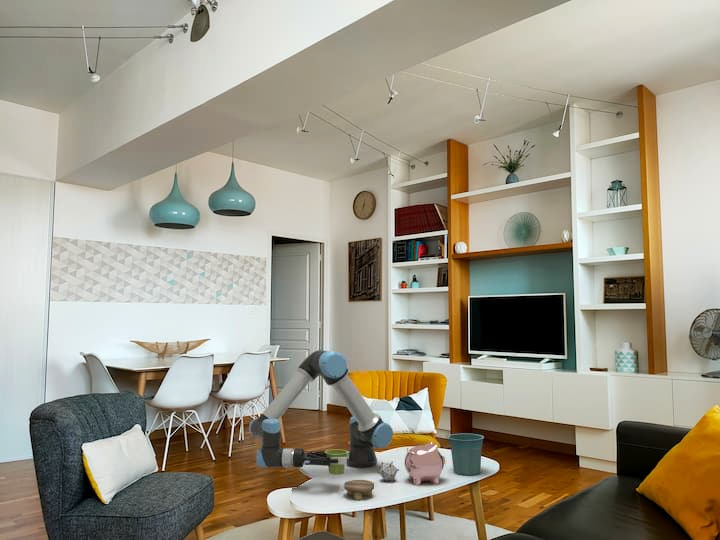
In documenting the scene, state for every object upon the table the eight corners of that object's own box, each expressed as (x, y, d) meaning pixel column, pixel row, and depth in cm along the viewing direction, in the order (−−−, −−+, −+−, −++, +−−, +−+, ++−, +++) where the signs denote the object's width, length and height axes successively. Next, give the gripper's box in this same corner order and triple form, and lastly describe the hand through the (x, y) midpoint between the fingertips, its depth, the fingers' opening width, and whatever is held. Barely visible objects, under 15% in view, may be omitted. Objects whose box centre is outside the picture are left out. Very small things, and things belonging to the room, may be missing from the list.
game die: (391, 490, 238) (397, 475, 233) (373, 482, 239) (378, 466, 235) (397, 475, 245) (403, 460, 240) (380, 468, 247) (385, 452, 242)
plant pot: (333, 469, 235) (333, 448, 236) (352, 471, 230) (351, 450, 231) (320, 474, 227) (320, 452, 228) (339, 477, 222) (339, 455, 223)
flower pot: (447, 475, 247) (446, 439, 249) (450, 466, 263) (449, 432, 265) (484, 478, 243) (483, 440, 245) (485, 468, 259) (484, 433, 261)
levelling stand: (345, 490, 225) (345, 479, 225) (375, 491, 224) (374, 480, 224) (342, 500, 213) (342, 488, 213) (373, 500, 212) (373, 488, 212)
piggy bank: (451, 484, 234) (450, 445, 235) (410, 487, 230) (410, 448, 231) (438, 475, 248) (438, 438, 250) (400, 477, 245) (400, 440, 246)
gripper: (298, 460, 241) (350, 461, 239) (288, 473, 220) (345, 474, 218) (298, 443, 242) (350, 443, 240) (288, 454, 221) (344, 454, 219)
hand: (347, 458), depth 229 cm, fingers closed on plant pot, 8 cm apart
